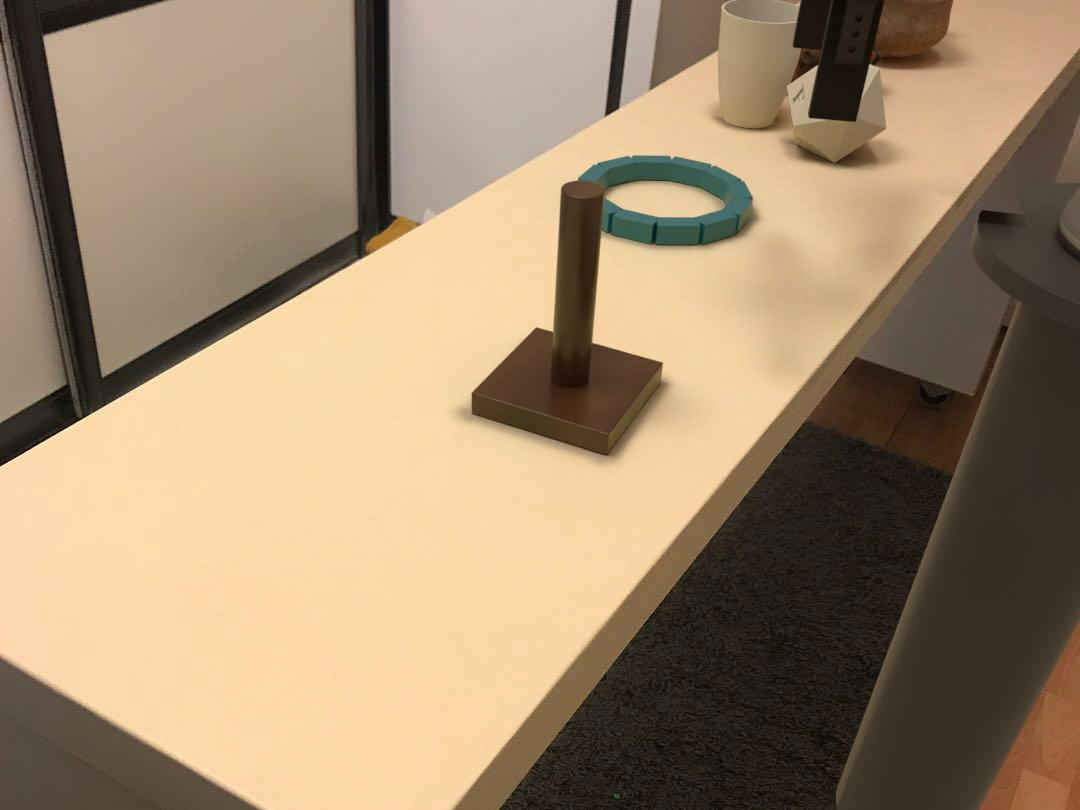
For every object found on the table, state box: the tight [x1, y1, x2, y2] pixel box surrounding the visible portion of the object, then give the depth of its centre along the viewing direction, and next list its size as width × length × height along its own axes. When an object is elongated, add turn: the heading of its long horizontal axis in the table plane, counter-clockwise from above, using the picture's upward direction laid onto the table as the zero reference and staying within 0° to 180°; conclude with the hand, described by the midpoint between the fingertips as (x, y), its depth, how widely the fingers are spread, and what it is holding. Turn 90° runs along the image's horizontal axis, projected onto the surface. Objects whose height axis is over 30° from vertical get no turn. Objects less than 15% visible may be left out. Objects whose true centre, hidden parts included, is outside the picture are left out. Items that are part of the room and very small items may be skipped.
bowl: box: [874, 0, 954, 58], centre depth 123 cm, size 18×14×10 cm
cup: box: [717, 0, 801, 129], centre depth 102 cm, size 8×8×10 cm
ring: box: [576, 154, 754, 246], centre depth 89 cm, size 14×14×2 cm
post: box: [471, 180, 664, 456], centre depth 62 cm, size 9×9×14 cm
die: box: [787, 64, 887, 164], centre depth 98 cm, size 8×9×10 cm
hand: (821, 80), depth 67 cm, fingers open, 13 cm apart
